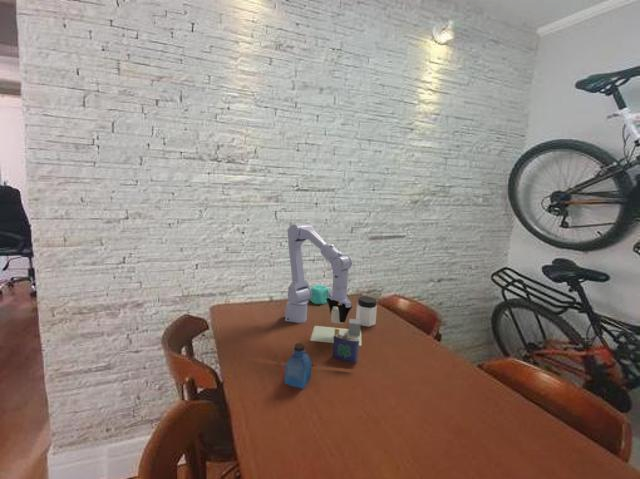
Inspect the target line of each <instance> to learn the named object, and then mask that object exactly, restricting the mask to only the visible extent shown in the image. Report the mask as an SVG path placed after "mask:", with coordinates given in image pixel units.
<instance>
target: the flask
mask: <svg viewBox="0 0 640 479" xmlns="http://www.w3.org/2000/svg"><path fill="white" fill-rule="evenodd" d="M348 335H349V333H345V335H343V336H342V335H340V334H336V335H334V343H332V344H333V345H332V357H333V358H334V359H336V360H340V361H344V362H349V363H358V360H359V340H358V339H356V338H350V337H348Z"/></svg>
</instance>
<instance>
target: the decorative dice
mask: <svg viewBox="0 0 640 479" xmlns="http://www.w3.org/2000/svg"><path fill="white" fill-rule="evenodd" d="M310 290H311V293H312V295H311V298H310V299H309V300H310V301H311V302H312V304H315V305H325V304H327V303H328V302H327V300H326V299H327V298H329V296H328V291H330V290H329V287H327V286H325V285H322V284H321V285H320V284H317V285H313V286H312V287H311V288H310Z"/></svg>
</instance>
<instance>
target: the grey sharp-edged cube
mask: <svg viewBox="0 0 640 479" xmlns="http://www.w3.org/2000/svg"><path fill="white" fill-rule="evenodd" d="M348 320H349V323H348V329H349V335H358V336H360V330H361V326H362V325H361V322H360V320H358V319H356V318H349V319H348Z"/></svg>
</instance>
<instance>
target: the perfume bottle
mask: <svg viewBox="0 0 640 479" xmlns="http://www.w3.org/2000/svg"><path fill="white" fill-rule="evenodd" d="M305 346H306V345H305V344H304V343H301V342H297V343H295V344H294V348H293V353H292V355H291V356H290V358H289V359H288V361H287V362H286V364H285V369H284V370H285V371H284V372H285V373H284V375H285V376H284V385H286V384H288V385H287V386H290V385H291V387H294V386H295V388H298V387H299V389H303V390H304V389H305V388H306V386H307V384H308V383H309V381H310V380H311V378H312V376H311V375H312V359H311V357H310V355H309V354H308V353H305V352H306V349H305Z"/></svg>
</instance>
